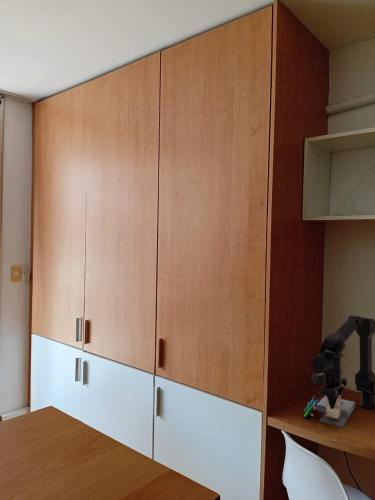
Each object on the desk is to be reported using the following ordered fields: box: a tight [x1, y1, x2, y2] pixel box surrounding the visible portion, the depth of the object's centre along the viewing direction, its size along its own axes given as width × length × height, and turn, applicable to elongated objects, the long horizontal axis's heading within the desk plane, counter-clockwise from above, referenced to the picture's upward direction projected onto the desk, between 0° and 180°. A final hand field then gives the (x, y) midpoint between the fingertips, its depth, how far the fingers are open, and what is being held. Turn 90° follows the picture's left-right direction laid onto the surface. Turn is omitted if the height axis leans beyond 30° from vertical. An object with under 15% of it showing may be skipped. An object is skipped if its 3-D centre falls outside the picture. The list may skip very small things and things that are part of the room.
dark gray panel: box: [318, 412, 349, 428], centre depth 156 cm, size 9×9×1 cm
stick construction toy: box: [303, 395, 324, 418], centre depth 162 cm, size 12×7×8 cm
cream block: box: [325, 394, 342, 419], centre depth 156 cm, size 4×4×8 cm
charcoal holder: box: [316, 395, 356, 419], centre depth 168 cm, size 13×13×2 cm
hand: (333, 406), depth 156 cm, fingers closed on cream block, 4 cm apart
